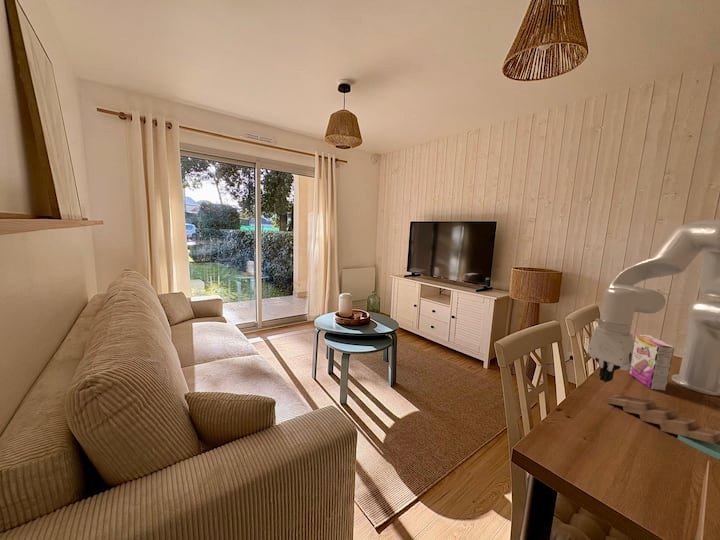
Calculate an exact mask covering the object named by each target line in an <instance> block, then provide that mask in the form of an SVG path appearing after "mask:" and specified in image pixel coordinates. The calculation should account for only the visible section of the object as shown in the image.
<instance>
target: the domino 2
mask: <svg viewBox="0 0 720 540" xmlns="http://www.w3.org/2000/svg"><path fill="white" fill-rule="evenodd" d="M622 409H623V412H625V413H631V414H635V415H639V414H640V415H646V416H651V417H656V418H662V419H670V418H672V417H675V416H677V415H678V414H677V412H676V409H674V408H667V407H660V406H657V407H654V408H652V409H649V410H643V409H637V408H631V407H626V406H622ZM640 415H639V416H640Z"/></svg>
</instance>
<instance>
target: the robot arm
mask: <svg viewBox="0 0 720 540" xmlns="http://www.w3.org/2000/svg"><path fill="white" fill-rule="evenodd" d="M700 252H701V254H702V264H701V270H700V271H701V272H700V277H699V284H698V285H699V286H698V287H699V288H698V289H699V291H700V293H702V294H703V295H704V296H709V297H713V298H716V299H720V219H703V220H696V221H693V222H691V223H684V224H681V225H679V226H677V227H675V228H674V229H673V230H672V231H671V232H670V233H669V235H668V236H667V237H666V238H665V239H664V240H663V242H662V243H661V245H660V246H659V247H658V248H657V250H656V251H655V252H654V253H653V254H652V256H651V257H649V258H647V259H644V260H643V261H640V262H637V263H635V264H633V265H631V266H629V267H627V268H625V269H623V270H622V271H621V272H619V273H618V274H617V276H615V277H614V279H613V280H612V281H611V283H610V284H609V285H608V287H607V288H606V289H605V290H604V294H603V299H602V306H601V311H600V312H601V313H600V317H599V318H595V320H594V322H595V323H597V324H598V326H595V327H594V329H593V332H592V334H591V337H590V341H589V343H588V344H589V345H588V349H587V353H588V356H589V357H590V358H591V359H593V360H594V361H596V362H597V364H598V367H599V374H598V375H599V377H600V378H599V380H600V381H603V382H605V383H608V382H610V381H613V379H614V375H615V374H614V373H615V371H617V370H622V371H629V370H630V364H631V362H632V357H633V346H634V337H633V334H632V333H631V331H632V326H633V325H632V324H633V320H634V314H635V313H641V314H656V313H658V312H660V311H662V310H663V309H665V306H666V297H665V296H664V295H663V293H660V292H659V291H657V290H654V289H649V288H645V287H640V286H635V285H636V284H638V283H640V282H642V281H646V280H650V279H655V278H661V277H669V276H675V275H679V274H681V273H683V272H685V271H686V269H688V267H689V266H690V264H691V263H692V262H693V261H694V259H695V258H697V256H698V255H699V253H700ZM687 312H688V313H687V315H688V317H687V319H688V328H687V329H688V331H687V335H686V341H685V345H684V348H683V349H684V350H683V353H682V359H681V364H680V368H679V372H678V373H679V374H678V373H677V374H673V375H672V376H671V380H672V381H673V382H674V383H675V384H677V385H679V386H681V387H684V388H686V389H688V390H691V391H694V392H697V393H701V394H704V395H711V396H719V397H720V301H719V300H713V299H699V300H698V299H697V300H695V301H693V302H692V303H691V304H690V305H689V307H688V309H687Z"/></svg>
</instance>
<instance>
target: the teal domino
mask: <svg viewBox="0 0 720 540" xmlns="http://www.w3.org/2000/svg"><path fill="white" fill-rule="evenodd" d="M676 439H677V440H679V441H681V442H683V443H684V444H687V446H691V447H692V448H694V449H696V450H698V451H700V452H703V453H704V454H706V453H707V454H706V455H708V454H709V455H708V456H710V455H711V457H712V456H713V457H712V458H714V457H715V458H714V459H716V458H717V459H716V460H718V459H720V444H717V443H710V442H706V441H702V440H698V439H694V438H690V437H685V436H681V435H677V438H676Z"/></svg>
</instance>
